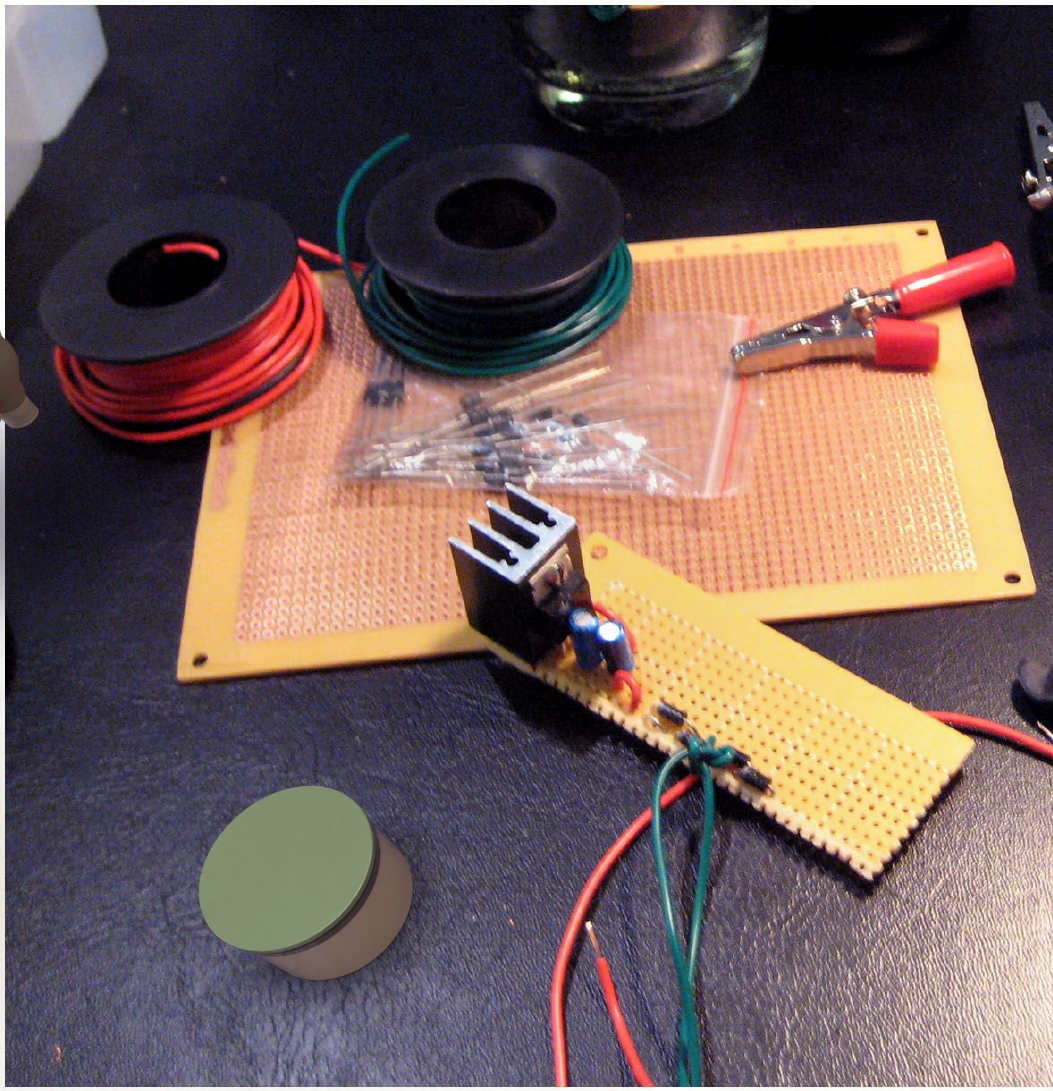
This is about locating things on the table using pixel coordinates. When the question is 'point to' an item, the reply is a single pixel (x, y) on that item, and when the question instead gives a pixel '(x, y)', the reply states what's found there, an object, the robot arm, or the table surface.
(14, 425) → the light bulb
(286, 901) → the pot
